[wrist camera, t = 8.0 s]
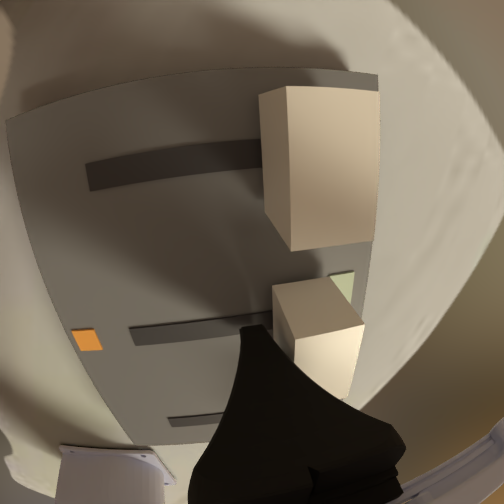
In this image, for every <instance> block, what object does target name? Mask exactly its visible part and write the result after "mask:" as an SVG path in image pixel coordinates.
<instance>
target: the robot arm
mask: <svg viewBox="0 0 504 504" xmlns="http://www.w3.org/2000/svg"><path fill="white" fill-rule="evenodd" d="M239 332H240V354H239V360H238V367H237V371H236V376H235V380H234V384H233V387H232V391H231V394H230V397H229V400H228V403H227V406H226V408H225V411H224V413H223V416H222V418H221V420H220V423H219V425H218V427H217V429H216V431H215V433H214V435H213V437H212V439H211V441H210V443H209V444H208V446H207V448H206V450H205V451H204V453H203V454H202V456H201V457H200V459H199V461H198V462H197V464H196V465H195V467H194V469H193V472H192V476H191V479H190V484H189V489H188V504H402V503H404V502H406V501H408V500H410V499H412V500H410V501H408V502H406V503H405V504H480V503H481V502H482V501H484V500H485V499H486V498H487V497H488V496H490V495H491V494H492V493H493V492H494V491H496V490H497V489H498V488H499V487H500V486H501V485H502V484H503V483H504V418H502V419H501V420H500V421H499V422H498V423H497V424H496V425H495V426H494V427H493V428H492V429H491V431H490V433H489V434H487V435H486V436H484V437H483V438H482V439H480V440H479V441H477V442H476V443H474V444H473V445H471V446H470V447H468V448H467V449H465V450H464V451H462V452H461V453H459V454H458V455H456V456H454V457H453V458H451V459H449V460H448V461H446V462H444V463H443V464H441V465H439V466H437V467H436V468H434V469H432V470H430V471H428V472H427V473H425V474H423V475H421V476H419V477H417V478H415V479H413V480H411V481H409V482H407V483H405V484H403V485H400V484H399V482H398V480H397V478H396V476H397V475H398V471H397V469H396V467H395V465H396V464H397V462H398V461H399V460H400V458H401V457H402V456H403V454H404V452H405V450H406V446H405V444H404V442H403V440H402V438H401V437H400V435H399V434H398V433H397V431H396V430H395V429H394V428H393V426H392V425H391V424H388V423H386V422H383V421H381V420H378V419H376V418H373V417H371V416H369V415H366V414H364V413H362V412H360V411H359V410H357V409H355V408H353V407H351V406H350V405H348V404H346V403H345V402H343V401H341V400H340V399H338V398H336V397H335V396H333V395H332V394H330V393H329V392H327V391H326V390H325V389H323V388H322V387H321V386H319V385H318V384H317V383H316V382H314V381H313V380H312V379H311V378H310V377H308V376H307V375H306V374H305V373H304V372H303V371H302V370H301V369H300V368H299V367H298V366H297V365H296V364H295V363H294V362H293V361H292V360H291V359H290V358H289V357H288V356H287V355H286V354H285V353H284V352H283V350H282V349H281V348H280V347H279V346H278V344H277V343H276V342H275V341H274V339H273V338H272V337H271V335H270V334H269V332H268V331H267V330H266V328H265V326H264V325H262V324H257V325H251V326H244V327H241V328H240V329H239ZM59 450H60V451H61V452H62V453H63V454H62V459H61V465H60V470H59V476H58V482H57V489H56V496H55V504H165V496H164V485H176V480H175V479H174V477H173V476H172V475H171V474H170V472H169V471H168V470H167V468H166V467H165V466H164V464H163V463H162V462H161V460H160V459H159V458H158V456H157V455H156V454H155V452H153V451H151V450H114V449H96V448H84V447H74V446H65V445H60V446H59Z"/></svg>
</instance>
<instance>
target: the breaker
mask: <svg viewBox="0 0 504 504" xmlns="http://www.w3.org/2000/svg"><path fill="white" fill-rule="evenodd" d="M258 97H259V113H260V130H261V148H262V167H263V186H264V206H265V213H266V215H267V216H268V218H269V219H270V221H271V222H272V224H273V225H274V227H275V228H276V230H277V231H278V233H279V234H280V236H281V237H282V239H283V240H284V242H285V243H286V245H287V246H288V248H289V249H290V251H291V252H292V251H300V250H307V249H315V248H322V247H330V246H337V245H345V244H352V243H359V242H367V241H374V232H375V221H376V210H377V197H378V181H379V159H380V93H379V92H377V91H368V90H358V89H347V88H332V87H310V86H285V87H281V88H278V89H275V90H272V91H269V92H265V93H262V94H259V95H258Z"/></svg>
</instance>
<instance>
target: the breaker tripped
mask: <svg viewBox="0 0 504 504" xmlns="http://www.w3.org/2000/svg"><path fill="white" fill-rule="evenodd" d="M272 300H273V339H274V341H275V342H276V343H277V344H278V346H279V347H280V348H281V349H282V350H283V352H284V353H285V354H286V355H287V356H288V357H289V358H290V359H291V360H292V361H293V362H294V363H295V364H296V365H297V366H298V367H299V368H300V369H301V370H302V371H303V372H304V373H305V374H306V375H307V376H308V377H310V378H311V379H312V380H313V381H314V382H316V383H317V384H318V385H319V386H321V387H322V388H323V389H325V390H326V391H327V392H329V393H330V394H332V395H333V396H335V397H336V398H338V399H342V398H345V397H348V393H349V390H350V386H351V382H352V378H353V374H354V370H355V366H356V362H357V358H358V354H359V350H360V345H361V341H362V336H363V331H364V326H365V324H364V322H363V321H362V320H361V318H360V317H359V315H358V314H357V313H356V311H355V310H354V309H353V307H352V306H351V305H350V303H349V302H348V300H347V299H346V298H345V296H344V295H343V294H342V292H341V291H340V290H339V288H338V287H337V286H336V284H335V283H334V282H333V280H332V279H331V278H330V276H329V277H323V278H317V279H310V280H304V281H298V282H291V283H285V284H278V285H272Z"/></svg>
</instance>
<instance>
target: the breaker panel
mask: <svg viewBox="0 0 504 504" xmlns="http://www.w3.org/2000/svg"><path fill="white" fill-rule="evenodd" d="M285 86H310V87H332V88H347V89H358V90H368V91H377V92H379V91H378V75H375V74H368V73H360V72H352V71H342V70H330V69H316V68H291V67H257V68H232V69H217V70H206V71H196V72H187V73H179V74H172V75H165V76H159V77H153V78H147V79H142V80H136V81H131V82H126V83H122V84H117V85H113V86H109V87H104V88H100V89H97V90H93V91H89V92H85V93H82V94H78V95H75V96H71V97H68V98H65V99H62V100H59V101H56V102H53V103H50V104H47V105H44V106H41V107H38V108H36V109H33V110H30V111H28V112H25V113H22V114H20V115H18V116H15V117H13V118H10V119H8V120H6V130H7V138H8V146H9V153H10V159H11V165H12V170H13V176H14V181H15V186H16V190H17V195H18V199H19V203H20V207H21V211H22V215H23V219H24V222H25V226H26V230H27V233H28V236H29V240H30V243H31V246H32V249H33V252H34V255H35V258H36V261H37V264H38V267H39V270H40V272H41V275H42V278H43V280H44V283H45V286H46V288H47V291H48V293H49V296H50V298H51V300H52V303H53V305H54V307H55V310H56V312H57V314H58V317H59V319H60V321H61V323H62V325H63V327H64V329H65V332H66V334H67V336H68V338H69V340H70V342H71V344H72V346H73V348H74V350H75V352H76V353H77V355H78V357H79V359H80V361H81V363H82V365H83V366H84V368H85V370H86V372H87V374H88V375H89V377H90V379H91V380H92V382H93V384H94V386H95V387H96V389H97V391H98V392H99V394H100V395H101V397H102V399H103V400H104V402H105V403H106V405H107V406H108V408H109V409H110V411H111V412H112V414H113V415H114V417H115V418H116V420H117V421H118V423H119V424H120V426H121V427H122V428H123V430H124V431H125V433H126V434H127V435H128V437H129V438H130V440H131V441H132V442H133V444H134V445H135V446H155V445H179V444H193V443H205V442H210V441H211V439H212V437H213V435H214V433H215V431H216V429H217V427H218V425H219V423H220V420H221V418H222V416H223V413H224V411H225V408H226V406H227V403H228V400H229V397H230V394H231V391H232V387H233V384H234V380H235V376H236V371H237V367H238V360H239V354H240V332H239V329H240V328H241V327H244V326H251V325H257V324H262V325H264V326H265V328H266V330H267V331H268V332H269V334H270V335H271V337H272V338H273V300H272V285H278V284H285V283H291V282H298V281H304V280H310V279H317V278H323V277H329V276H330V278H331V279H332V280H333V282H334V283H335V284H336V286H337V287H338V288H339V290H340V291H341V292H342V294H343V295H344V296H345V298H346V299H347V300H348V302H349V303H350V305H351V306H352V307H353V309H354V310H355V311H356V313H357V314H358V315H359V317H360V318H361V317H362V311H363V306H364V300H365V294H366V287H367V281H368V274H369V267H370V259H371V251H372V242H373V241H367V242H359V243H352V244H345V245H337V246H330V247H322V248H315V249H307V250H300V251H292V252H291V251H290V249H289V248H288V246H287V245H286V243H285V242H284V240H283V239H282V237H281V236H280V234H279V233H278V231H277V230H276V228H275V227H274V225H273V224H272V222H271V221H270V219H269V218H268V216H267V215H266V213H265V206H264V186H263V167H262V148H261V130H260V113H259V97H258V95H259V94H262V93H265V92H269V91H272V90H275V89H278V88H281V87H285ZM340 400H341V401H343V398H342V399H340Z"/></svg>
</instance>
